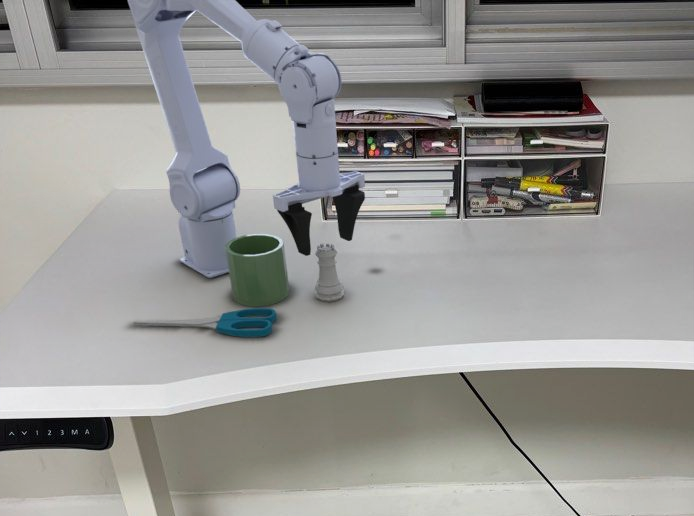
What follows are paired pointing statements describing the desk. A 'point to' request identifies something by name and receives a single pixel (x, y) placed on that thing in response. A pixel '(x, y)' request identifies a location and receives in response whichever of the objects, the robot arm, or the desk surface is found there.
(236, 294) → the planter
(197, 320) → the scissors
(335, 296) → the rook chess piece
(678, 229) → the desk surface
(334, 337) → the desk surface
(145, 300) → the desk surface
